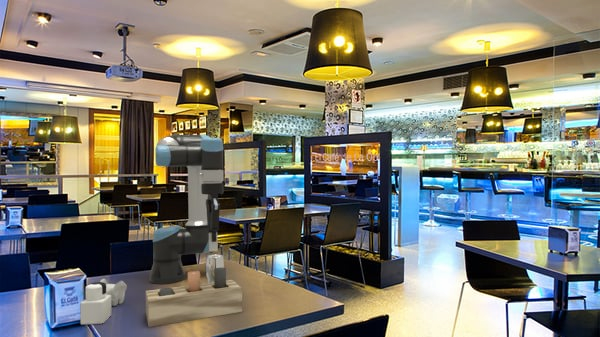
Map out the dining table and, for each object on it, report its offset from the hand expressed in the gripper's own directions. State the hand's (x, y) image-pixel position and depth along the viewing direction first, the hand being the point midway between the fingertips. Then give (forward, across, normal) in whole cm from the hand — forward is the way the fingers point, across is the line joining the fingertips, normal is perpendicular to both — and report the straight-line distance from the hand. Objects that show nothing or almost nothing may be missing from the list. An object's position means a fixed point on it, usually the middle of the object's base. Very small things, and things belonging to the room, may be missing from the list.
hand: (213, 250), depth 141 cm
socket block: (+21, 0, -7) cm, 22 cm away
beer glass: (+21, -17, +4) cm, 27 cm away
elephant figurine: (+21, -22, -33) cm, 45 cm away
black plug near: (+19, 0, -16) cm, 25 cm away
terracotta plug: (+14, 0, -7) cm, 16 cm away
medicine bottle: (+21, -7, -37) cm, 43 cm away
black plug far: (+14, 0, +2) cm, 15 cm away
